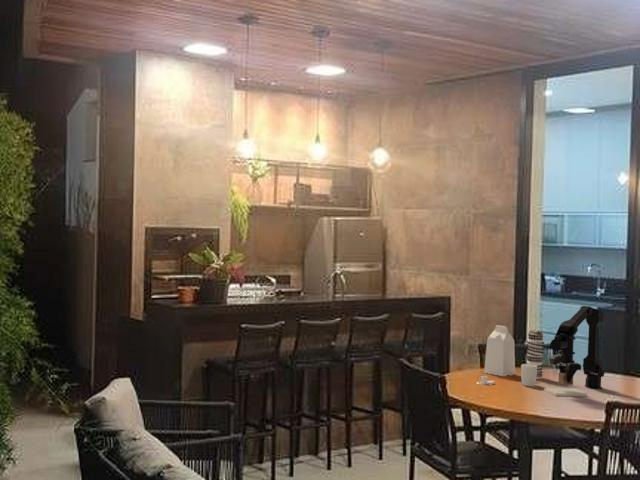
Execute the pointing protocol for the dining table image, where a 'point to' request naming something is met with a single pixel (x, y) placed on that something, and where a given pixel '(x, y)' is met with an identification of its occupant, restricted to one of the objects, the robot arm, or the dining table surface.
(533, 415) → the dining table surface
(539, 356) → the decorative candle
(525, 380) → the white cup
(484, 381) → the teacup and saucer
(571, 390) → the plate
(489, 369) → the milk
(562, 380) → the walnut block
